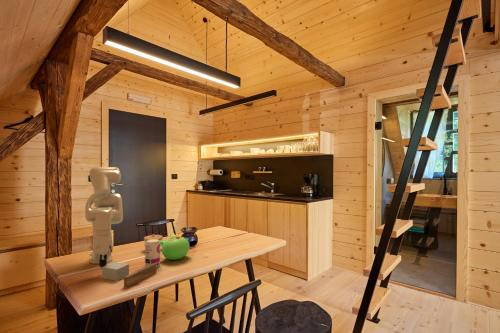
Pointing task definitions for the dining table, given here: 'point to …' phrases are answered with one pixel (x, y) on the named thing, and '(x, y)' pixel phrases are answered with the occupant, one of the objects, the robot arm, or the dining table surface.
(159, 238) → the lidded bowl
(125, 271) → the brick
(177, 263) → the dining table surface
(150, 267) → the fence
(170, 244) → the green round body
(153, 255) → the supplement can
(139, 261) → the dining table surface
